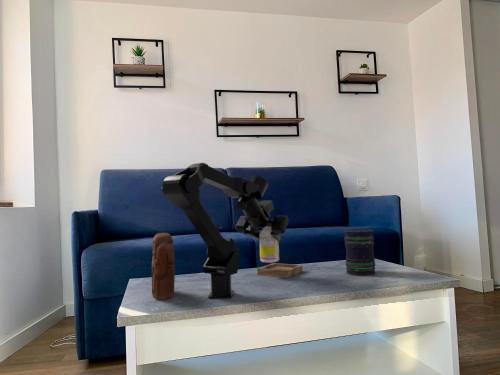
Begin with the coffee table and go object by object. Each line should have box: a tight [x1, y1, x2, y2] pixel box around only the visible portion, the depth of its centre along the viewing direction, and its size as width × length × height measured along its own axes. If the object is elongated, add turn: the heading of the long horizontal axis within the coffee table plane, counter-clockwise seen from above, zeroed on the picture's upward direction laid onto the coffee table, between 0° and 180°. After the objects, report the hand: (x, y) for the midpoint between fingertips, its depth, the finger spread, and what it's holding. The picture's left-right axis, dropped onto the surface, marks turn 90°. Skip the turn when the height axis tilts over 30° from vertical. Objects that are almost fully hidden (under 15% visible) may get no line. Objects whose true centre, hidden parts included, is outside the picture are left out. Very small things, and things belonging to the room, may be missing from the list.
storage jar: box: [344, 228, 376, 277], centre depth 120 cm, size 10×10×15 cm
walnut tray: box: [256, 262, 303, 279], centre depth 125 cm, size 12×12×2 cm
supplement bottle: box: [258, 226, 280, 263], centre depth 120 cm, size 7×7×13 cm
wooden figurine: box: [151, 232, 176, 300], centre depth 101 cm, size 12×6×18 cm, turn 19°
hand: (270, 240), depth 121 cm, fingers closed on supplement bottle, 7 cm apart
